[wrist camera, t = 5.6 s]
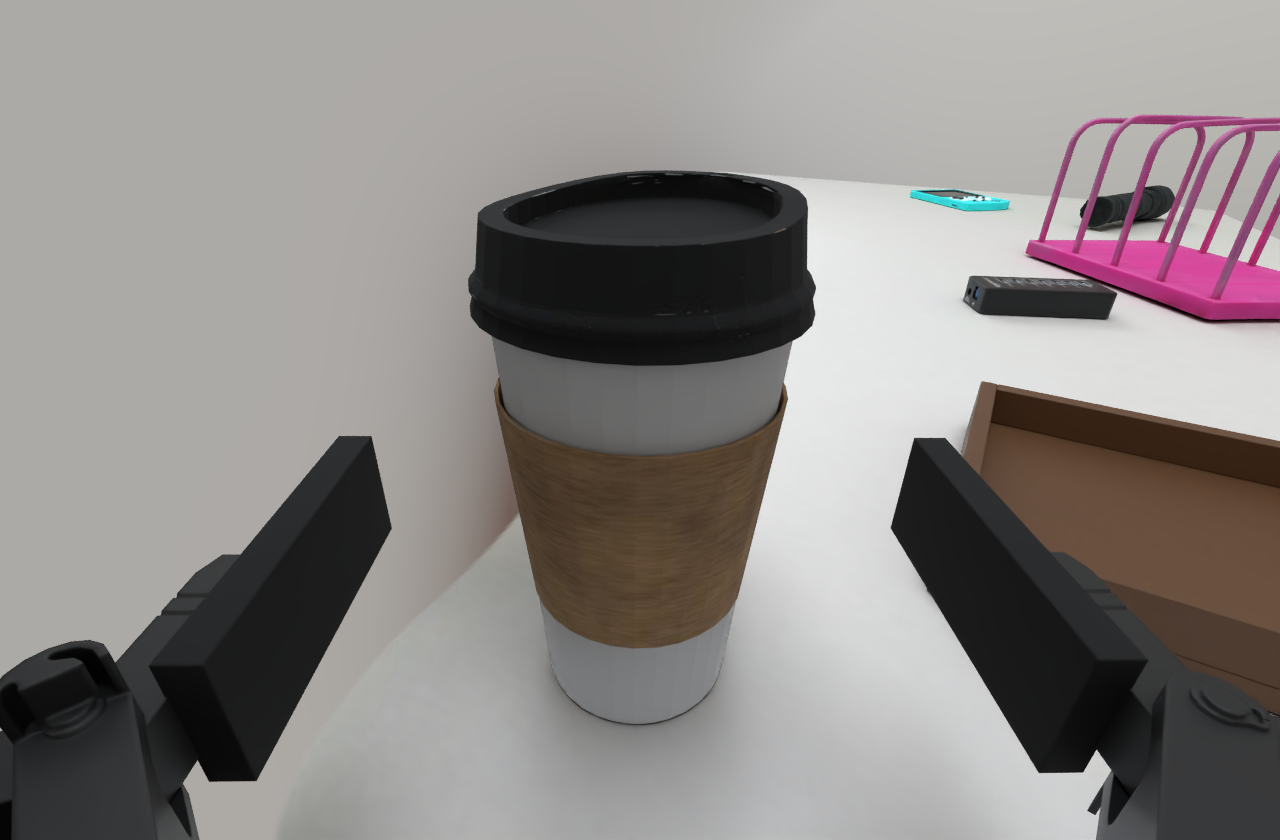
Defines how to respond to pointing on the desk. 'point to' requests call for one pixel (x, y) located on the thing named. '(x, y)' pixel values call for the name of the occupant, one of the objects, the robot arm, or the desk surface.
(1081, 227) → the file sorter
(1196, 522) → the tray
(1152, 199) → the flashlight
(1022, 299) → the multiport hub
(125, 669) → the robot arm
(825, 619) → the desk surface
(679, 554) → the coffee cup
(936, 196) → the handheld game console
